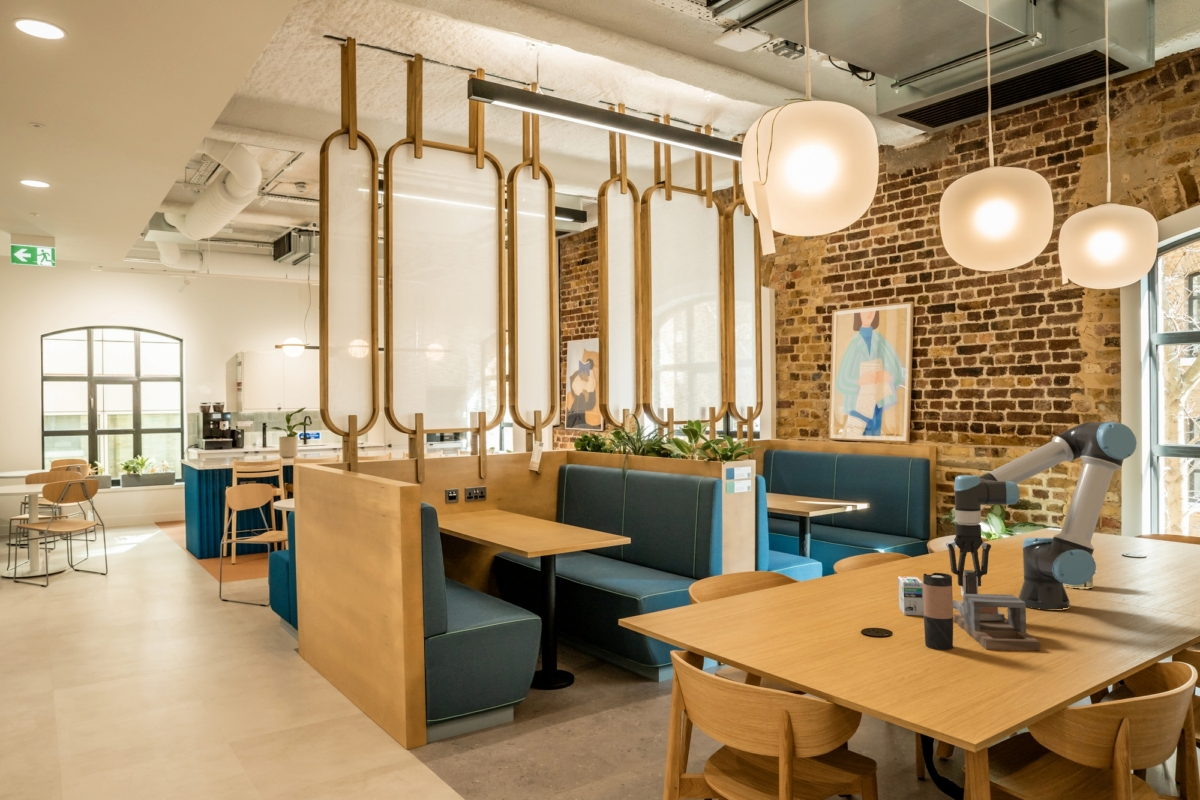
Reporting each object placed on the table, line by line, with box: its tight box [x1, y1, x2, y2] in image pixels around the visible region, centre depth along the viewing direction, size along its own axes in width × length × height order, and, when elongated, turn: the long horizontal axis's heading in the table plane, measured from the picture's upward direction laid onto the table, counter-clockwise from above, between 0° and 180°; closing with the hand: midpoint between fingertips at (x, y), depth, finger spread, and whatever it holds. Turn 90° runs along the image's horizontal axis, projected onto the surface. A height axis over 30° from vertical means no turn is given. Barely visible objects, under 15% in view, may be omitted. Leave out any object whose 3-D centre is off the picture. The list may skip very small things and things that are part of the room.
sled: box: [953, 569, 1005, 621], centre depth 247 cm, size 17×10×12 cm, turn 172°
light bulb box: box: [897, 575, 924, 617], centre depth 261 cm, size 11×7×11 cm, turn 168°
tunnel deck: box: [953, 593, 1041, 651], centre depth 232 cm, size 30×14×11 cm, turn 172°
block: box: [980, 607, 999, 621], centre depth 242 cm, size 7×6×5 cm
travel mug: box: [922, 572, 954, 651], centre depth 222 cm, size 8×8×20 cm
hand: (969, 596), depth 254 cm, fingers open, 3 cm apart
